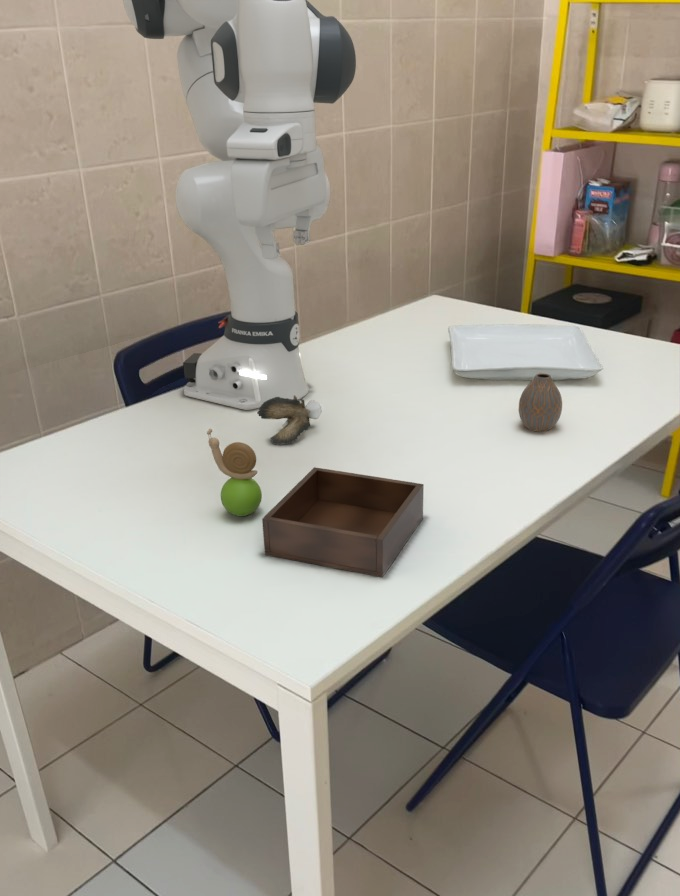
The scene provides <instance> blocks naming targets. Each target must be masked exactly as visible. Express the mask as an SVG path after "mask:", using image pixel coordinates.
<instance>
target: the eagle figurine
mask: <svg viewBox="0 0 680 896" xmlns="http://www.w3.org/2000/svg"><path fill="white" fill-rule="evenodd" d="M322 412H323V410H322V405H321V403H319V401H316V400H313V399H311V400H309V401H308V402H307V404H306V403H305V399H302V398H300V400H299V399H298V400H297V397H296V396H295V395H294V399H288V398H287V399H286V398H285V399H284V398H280V397H275V398H272V399H269V400H267V401H265V402H264V403H263V404H262V405H261V407H259V408H258V411H257V415H258V416H259V417H260V418H261V419H262V420H263V419H264V420H282V419H287V420H286V421H285V422H284V423H283V424H282V428H281V429H280V430H279V431H278V432H277V433H276V434H274V435H272V436H271V437H270V442H271V444H272V445H274V446H275V445H279V446H281V445H287V444H291V443H293V442H295V441H296V440H297V439H298V437H300V436H301V435H302V434H303V433H304V432H306V431H308V430H309V428H311V422H310V419H311V420H318V419H319V418H320V416H321V414H322Z"/></svg>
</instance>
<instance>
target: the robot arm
mask: <svg viewBox="0 0 680 896" xmlns="http://www.w3.org/2000/svg"><path fill="white" fill-rule="evenodd" d="M122 2H123V7H124V10H125V13H126V16H127V17H128V19H129V21H130V23H131V24H132V25H133V26H134V28H135V31H136V32H137V33H138V34H139V35H140V36H142V37H143V38H145V39H149V40H164V38H165V37H183V38H182V39H181V41H180V42H179V44H178V48H177V52H176V57H177V58H176V60H177V61H176V62H177V69H178V75H179V80H180V85H181V89H182V92H183V96H184V99H185V103H186V105H187V109H188V111H189V114H190V117H191V119H192V122H193V125H194V128H195V131H196V135H197V138H198V140H199V142H200V144H201V146H202V147H203V148H204V149H205V151H207V153H209V154H210V155H211V156H213V157H214V158H216V159H218V160H215V161H214V160H213V161H209V162H206V163H202V164H198V165H195V166H192V167H190V168H186V169H184V170H183V172H182V173H181V174H180V176H179V178H178V179H177V180H178V181H177V182H176V187H175V193H174V194H175V196H174V197H175V198H174V199H175V200H174V201H175V206H176V209H177V210H176V211H177V213H178V215H179V217H180V219H181V221H182V222H183V224H185V225H186V227H187V228H188V229H189V230H191V231H192V232H193V233H194V234H196V235H198V237H201V238H202V239H203V240H204V241H205V242H207V244H209V246H210V247H211V248H212V249H213V250H214V252H215V253H216V255H217V257H218V258H219V260H220V262H221V264H222V267H223V269H224V273H225V277H226V278H225V279H226V283H227V288H228V295H229V304H230V311H231V312H230V313H229V314H227V315H226V316H224V317H223V319H222V320H219V321H218V322H217V323H218V324H219V326H218V329H222V328H223V327H224V331H223V335H222V336H220V337H219V338H218V340H216V341H214V343H213V344H211V345H210V346H209V347H208V348H207V349H205V350H204V351H203V352H202V353H197V352H193V353H192V354H191V355H190V356H189V357H188V358H186V359H185V360H184V361H183V362H182V365H183V375H184V379H186V380H187V383H186V384H185V385H184V389H183V393H184V396H185V397H189V398H194V399H197V400H202V401H206V402H210V403H215V404H219V405H222V406H228V407H231V408H235V409H240V410H245V411H250V410H255V409H259V408H260V407H261V405H262V404H263V403H264V402H265V401H267V400H269V399H272V398H275V397H280V398H284V399H285V398H286V399H287V398H288V399H294V395H295V396H296V397H297V400H298V401H299V400H301V399H302V398H304V397H305V396H306V395H308V393H309V391H310V388H309V385H308V382H307V380H306V377H305V373H304V369H303V364H302V360H301V353H300V336H301V335H300V333H301V332H300V322H299V313H298V312H297V311H296V296H295V279H294V272H293V269H292V267H291V265H290V264H289V263H288V261H287V260H285V258H283V257H281V256H280V253H281V252H280V243H279V242H277V241H276V237H275V233H274V232H275V231H276V230H283V229H292V228H293V229H294V228H295V229H294V230H293V231H292V236H293V243H294V245H300V246H305V245H306V244H308V243H309V242H310V240H311V236H310V235H311V234H310V230H311V226H312V223H313V222H315V221H319V220H321V219H322V218H323V217H324V215H325V214H326V212H327V211H328V208H329V204H330V202H331V193H332V192H331V183H330V180H329V177H328V175H327V173H326V167H325V161H324V154H323V151H322V149H321V147H320V146H318V141H317V129H316V128H317V127H316V106H315V103H316V104H335V103H336V102H337V101H338V100H339V99H340V98H341V97H342V96H344V94H345V93H346V91H348V89H349V88H350V86H351V84H352V83H353V82H354V79H355V75H356V69H357V56H356V50H355V46H354V42H353V39H352V37H351V35H350V33H349V31H348V30H347V29H346V28H345V26H344V25H343V24H342V23H341V22H340V21H339V19H337V18H336V17H335V16H333V15H329V16H327V15H324V14H322V13H321V12H320V11H319V10H318V9H317V8H316V7H315V6H314V5H313V4H311V3H310V1H308V0H122Z"/></svg>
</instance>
